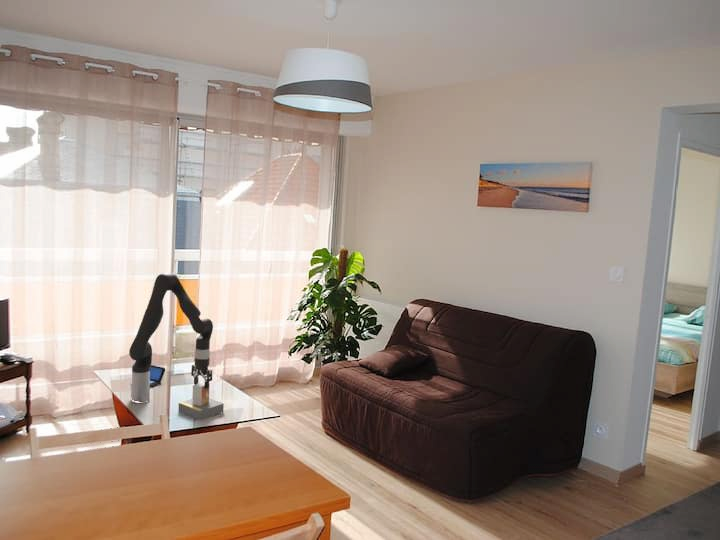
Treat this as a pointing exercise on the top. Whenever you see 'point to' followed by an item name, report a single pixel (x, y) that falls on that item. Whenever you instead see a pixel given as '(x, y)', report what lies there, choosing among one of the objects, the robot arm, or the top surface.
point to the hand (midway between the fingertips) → (201, 386)
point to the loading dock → (201, 409)
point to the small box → (200, 394)
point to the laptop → (156, 375)
